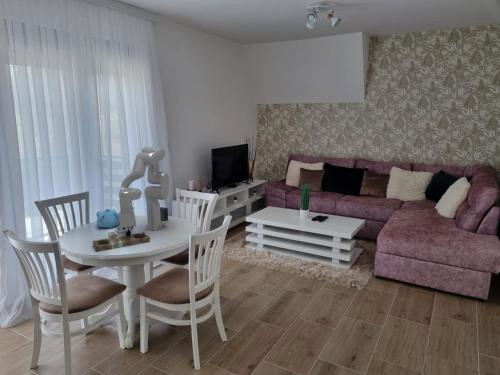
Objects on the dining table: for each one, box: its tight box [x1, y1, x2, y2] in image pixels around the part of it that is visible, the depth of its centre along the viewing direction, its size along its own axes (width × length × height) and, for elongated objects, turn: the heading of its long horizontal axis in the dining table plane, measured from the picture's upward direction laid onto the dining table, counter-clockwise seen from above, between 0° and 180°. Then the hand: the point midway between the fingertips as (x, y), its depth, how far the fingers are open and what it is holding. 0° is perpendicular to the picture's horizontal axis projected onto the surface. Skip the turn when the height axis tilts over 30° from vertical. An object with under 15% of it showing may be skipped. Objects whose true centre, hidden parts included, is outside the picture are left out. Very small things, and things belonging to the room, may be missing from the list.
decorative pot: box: [96, 208, 119, 229], centre depth 268 cm, size 16×16×14 cm
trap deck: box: [92, 231, 151, 252], centre depth 232 cm, size 33×13×3 cm, turn 122°
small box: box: [160, 206, 169, 222], centre depth 282 cm, size 11×6×10 cm, turn 71°
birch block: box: [107, 231, 120, 243], centre depth 229 cm, size 5×6×5 cm
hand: (128, 236), depth 235 cm, fingers closed
